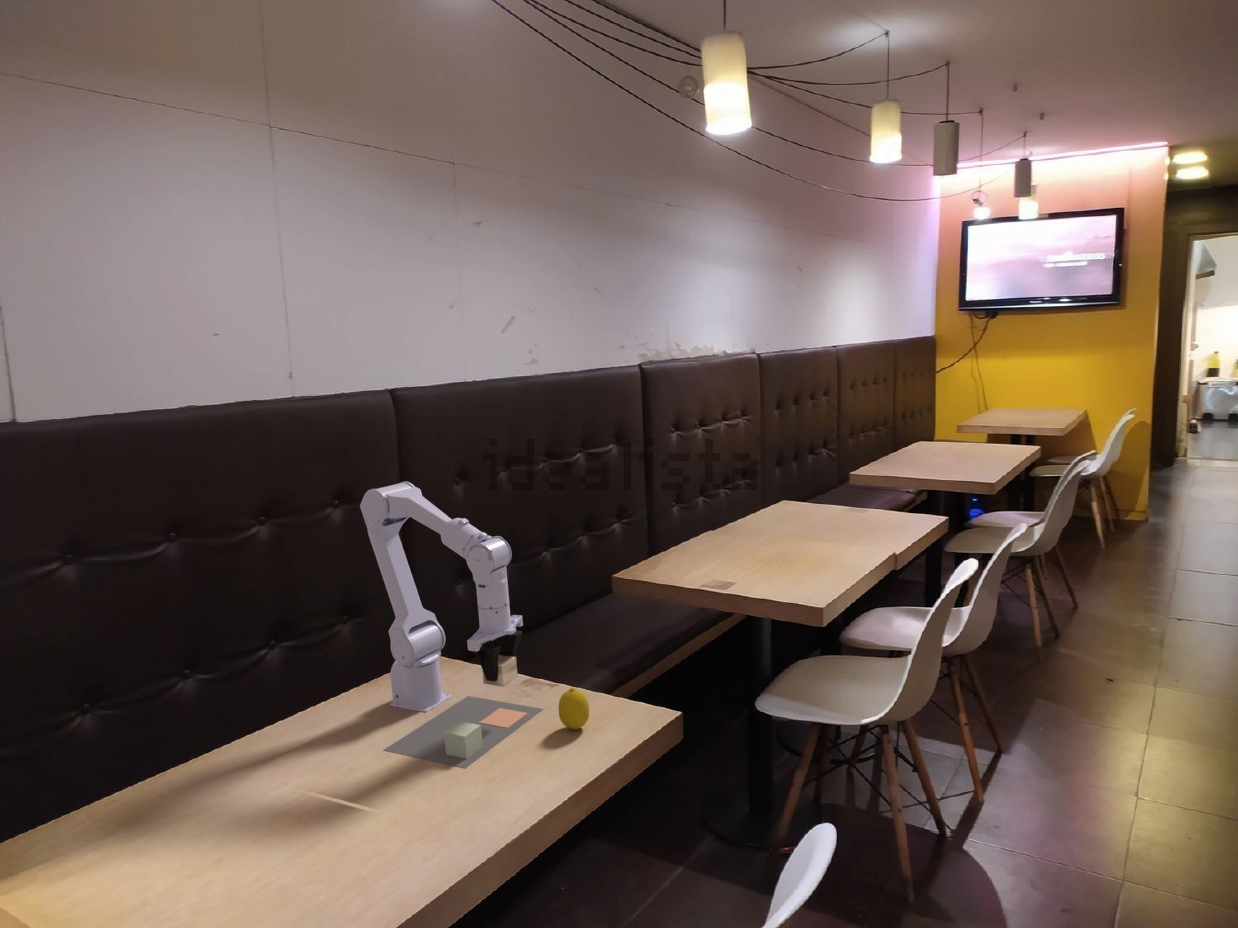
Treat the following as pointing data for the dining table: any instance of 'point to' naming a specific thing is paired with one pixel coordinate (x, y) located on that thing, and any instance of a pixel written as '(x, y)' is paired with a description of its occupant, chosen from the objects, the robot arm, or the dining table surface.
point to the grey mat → (487, 713)
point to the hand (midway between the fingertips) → (499, 675)
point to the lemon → (573, 709)
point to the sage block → (463, 739)
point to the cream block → (504, 671)
